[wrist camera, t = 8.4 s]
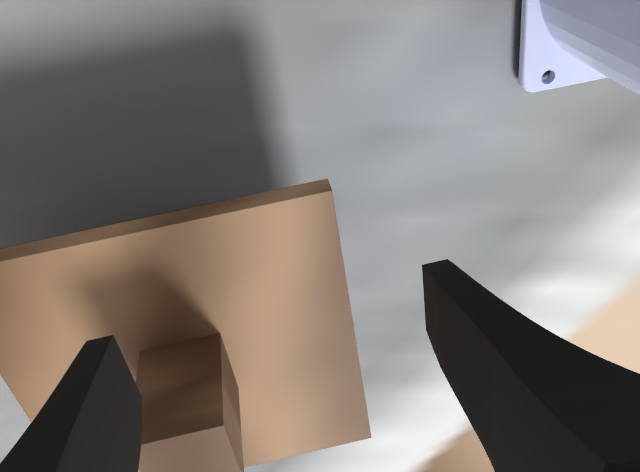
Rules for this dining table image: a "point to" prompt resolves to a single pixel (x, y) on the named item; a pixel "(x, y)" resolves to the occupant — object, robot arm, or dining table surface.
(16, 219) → the dining table surface
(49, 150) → the dining table surface
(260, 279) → the lid
